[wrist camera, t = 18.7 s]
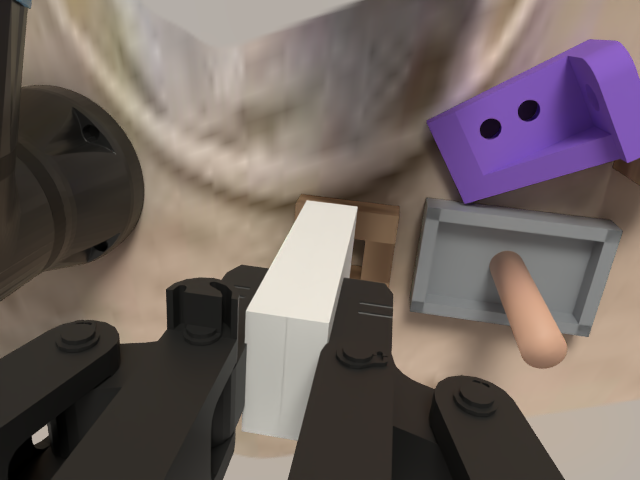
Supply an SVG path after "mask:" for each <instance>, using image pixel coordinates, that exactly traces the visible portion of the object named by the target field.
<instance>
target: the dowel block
mask: <svg viewBox="0 0 640 480" xmlns="http://www.w3.org/2000/svg"><path fill="white" fill-rule="evenodd" d="M307 200H309V201H317V202H325V203H332V204H340V205H348V206H356V207H358V209H357V217H356V226H355V235H354V239H358V240H365V248H364V256H363V264H362V266H355V265H351V269H350V277H349V278H351V279H358V280H365V281H373V282H380V283H385V284H386V285H387V287H388V288H389V281H390V275H391V268H392V261H393V255H394V248H395V241H396V235H397V228H398V221H399V206H392V205H384V204H376V203H368V202H360V201H352V200H344V199H336V198H328V197H320V196H312V195H304V194H301V195H300V197H299V199H298V200H297V202H296V205H295V219H294V223H295V221H296V219H297V217H298V215H299V214H300V212H301V210H302V208H303V206H304V204H305V203H306V201H307Z"/></svg>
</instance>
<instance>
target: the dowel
mask: <svg viewBox="0 0 640 480" xmlns="http://www.w3.org/2000/svg"><path fill="white" fill-rule="evenodd" d="M489 268H490V272H491V275H492V277H493V280H494V283H495V285H496V288H497V291H498V294H499V296H500V299H501V302H502V304H503V307H504V310H505V313H506V315H507V318H508V321H509V323H510V326H511V329H512V332H513V334H514V337H515V340H516V342H517V345H518V348H519V351H520V353H521V356H522V358H523V360H524V361H525V362H526V363H527V364H529V365H530V366H532V367H535V368H550V367H553V366H555V365H557V364H559V363H560V362H561V361H562V360H563V359H564V358H565V356H566V353H567V344H566V341H565V339H564V337H563V336H562V334H561V332H560V330H559V328H558V326H557V324H556V322H555V320H554V319H553V317H552V315H551V313H550V311H549V309H548V307H547V305H546V303H545V301H544V300H543V298H542V296H541V294H540V292H539V290H538V288H537V286H536V284H535V283H534V281H533V279H532V277H531V275H530V273H529V271H528V269H527V267H526V265H525V264H524V262H523V260H522V258H521V257H520V255H518V254H517V253H515V252H512V251H502V252H500V253H498V254H496V255H495V256H494V257H493V258H492V259H491V261H490V265H489Z"/></svg>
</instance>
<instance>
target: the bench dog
mask: <svg viewBox="0 0 640 480" xmlns="http://www.w3.org/2000/svg"><path fill="white" fill-rule="evenodd" d="M613 168H614V169H616V170H617V171H619V172H620V173H622V174H623V175H625V176H626V177H628V178H629V179H631V180H632V181H634V182H635V183H637V184H638V185H640V158H638V159H636V160H634V161H631V162H629V163H627V162H625V161H623V160H622V159H618V160H615V161H614V165H613Z"/></svg>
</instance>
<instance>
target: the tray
mask: <svg viewBox="0 0 640 480" xmlns="http://www.w3.org/2000/svg"><path fill="white" fill-rule="evenodd" d="M622 232H623V231H622V230H621V229H620V228H619V227H618V226H617V225H616V224H615V223H614V222H612V221H611V220H607V219H598V218H590V217H582V216H574V215H566V214H557V213H549V212H541V211H533V210H525V209H516V208H508V207H500V206H492V205H483V204H475V203H467V204H464V202H459V201H451V200H442V199H434V198H426V203H425V209H424V215H423V221H422V227H421V233H420V239H419V245H418V251H417V257H416V262H415V268H414V274H413V280H412V286H411V292H410V311H411V312H418V313H425V314H432V315H439V316H445V317H452V318H459V319H466V320H473V321H480V322H487V323H494V324H501V325H508V326H510V323H509V321H508V318H507V315H506V313H505V310H504V307H503V304H502V302H501V299H500V296H499V294H498V291H497V288H496V285H495V283H494V280H493V277H492V275H491V272H490V268H489V265H490V261H491V259H492V258H493V257H494V256H495V255H496V254H498V253H500V252H502V251H512V252H515V253H517V254H518V255H520V257H521V258H522V260H523V262H524V264H525V265H526V267H527V269H528V271H529V273H530V275H531V277H532V279H533V281H534V283H535V284H536V286H537V288H538V290H539V292H540V294H541V296H542V298H543V300H544V301H545V303H546V305H547V307H548V309H549V311H550V313H551V315H552V317H553V319H554V320H555V322H556V324H557V326H558V328H559V330H560V332H561V333H564V334H571V335H578V336H585V337H589V334H590V331H591V327H592V324H593V321H594V318H595V315H596V312H597V309H598V306H599V303H600V300H601V297H602V294H603V291H604V288H605V285H606V282H607V278H608V275H609V272H610V269H611V266H612V263H613V260H614V257H615V254H616V251H617V248H618V245H619V242H620V239H621V236H622Z"/></svg>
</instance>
